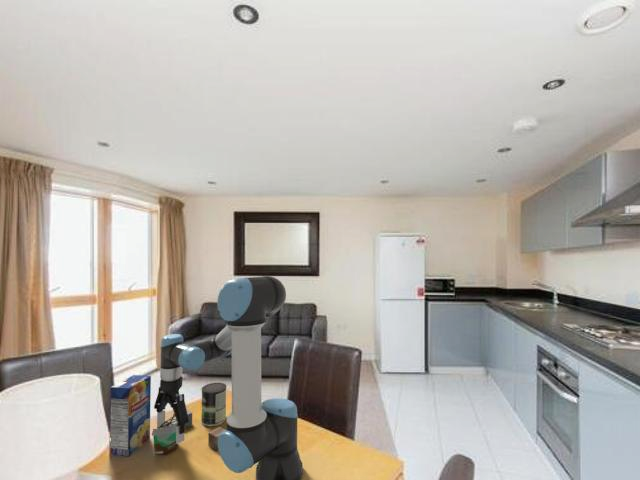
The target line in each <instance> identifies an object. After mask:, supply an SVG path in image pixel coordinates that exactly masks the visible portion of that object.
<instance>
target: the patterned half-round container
mask: <svg viewBox="0 0 640 480" xmlns="http://www.w3.org/2000/svg"><path fill="white" fill-rule="evenodd" d="M177 424H178V423H177V420H176V417H175V414H174V412H173V415H172V416H171V417H170V418H168V419H167V420H165V422H164V423H163V424H162V425H161V426H160V427H158V428H157V427H156V428H152V434H151V436H153V439H152V440H153V453H154V457H161V456H165V455H166V456H167V455H169V454H171V453H173V452H175V450H176V449H177V448H178V447H179V446H178V444H179V443H178V444H176V425H177Z"/></svg>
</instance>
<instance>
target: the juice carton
mask: <svg viewBox="0 0 640 480" xmlns="http://www.w3.org/2000/svg"><path fill="white" fill-rule="evenodd" d="M151 378H152V375H144V374H143V375H140V374H132V375H131V376H128V377H127V378H125V379H124V380H121V381H120V382H117V383H116V384H114V385H112V386H110V393H109V394H110V397H109V398H110V400H109V401H110V403H109V407H110V408H109V409H110V410H109V439H110V438H111V441H110V440H109V444H108V445H109V448H108V449H109V450H108V451H109V452H108V453H109V456H115V457H124V458H125V457H126V458H128V457H130V456H131V455H132V454H134V453H135V451H137V450H138V449H139V448H140V447H141V446H142V445H144V444H145V443H146V442H147V441H149V440H150V439H151V395H152V393H151V389H152V387H151V386H152V385H151V384H152V383H151V382H152V379H151Z"/></svg>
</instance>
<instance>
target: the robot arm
mask: <svg viewBox="0 0 640 480" xmlns="http://www.w3.org/2000/svg"><path fill="white" fill-rule="evenodd" d="M223 284H224V283H223ZM286 298H287V291H286V287H285V285H284V284H283V283H282V281H281V280H279V278H276V277H275V276H270V275H263V276H253V277H252V276H251V277H238V278H235V279H230V280H228V281H227V282H225V284H224V285H223V286H222V287H221V288H220V291H219V293H218V295H217V301H216V303H217V311H218V313H219V315H220V318H222V319H223V320H224V321H225V325H226V326H225V327H224V328H222V329H221V330H220V332H219V333H218V334H216V335H215V336H214V337H213V338H210V339H207V340H202V341H199V342H195V343H192V344H191V343H190V344H187V343H185V342H184V336H183V334H179V333H173V334H171V333H170V334H167V335H164V336H163V337H162V338H161V342H160V368H159V369H160V370H159V371H160V373H159V374H160V375H159V378H160V380H159V387H158V393H157V396H156V400H155V401H154V406H153V408H154V409H155V411H156V413H157V415H156V419H157V421H156V424H157V425H156V429H157V428H158V427H160V426H161V425H162V424H163V423H164V422H165V421H166V407H167V406H168V405H170V406H169V407H170V408H172V411H173V413H174V414H175V417H176V420H177V423H178V424H177V425H176V444H180V443H182V442H185V432H186V427H185V424H186V423H188V422H189V419H188V414H187V410H188V409H187V406H186V401H185V394H184V393H182V394H180V390H181V388H182V387H183V369H185V370H190V371H196V370H198V369H199V368H201V366H202V365H203V364H204V363H207V362H209V361H213V360H217V359H220V358H224V357H226V356H229V355H231V412H230V413H229V414H228V416H226V428H225V430H226V431H223V432H222V433H221V434H220V436H219V438H218V450H217V451H218V454H219V456H220V459H221V460H222V462H223V464H224V465H225V466H226V468H228V470H230V471H231V472H233V473H235V474H241V473H244V472H245V471H247V470H249V469H251V468H252V467H253V466H254V465H256V464H257V465H256V468H255V480H302V478H303V469H304V466H303V462H302V459H301V456H300V453H299V449H298V417H299V416H298V407H297V404H296V403H295V402H294V401H292V400H291V399H290V400H289V399H286V398H280V397H275V398H269V399H266V400H264V401H262V328H263V327H264V326H265V325H266V323H267V319H269V318H271V317H273V316H274V315H275V314H276V313H278V312H279V311H280V310H281V309H282V308H283V306H284V304H285V303H286ZM186 409H187V410H186Z"/></svg>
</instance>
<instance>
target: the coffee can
mask: <svg viewBox="0 0 640 480" xmlns="http://www.w3.org/2000/svg"><path fill="white" fill-rule="evenodd" d="M200 421H201V423H200V424H202V426H205V427H215V426H219V425H221V424H223V423H225V421H227V385H226V383H223V382H211V383H208V384H205V385H203V386H202V387H201V420H200Z"/></svg>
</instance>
